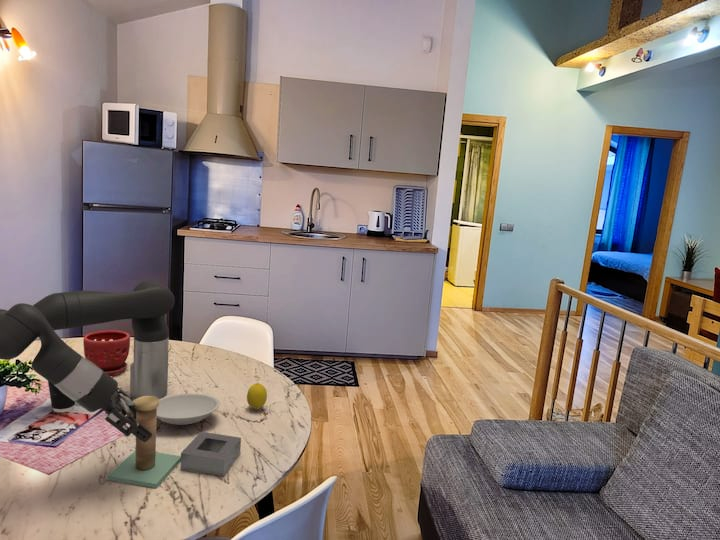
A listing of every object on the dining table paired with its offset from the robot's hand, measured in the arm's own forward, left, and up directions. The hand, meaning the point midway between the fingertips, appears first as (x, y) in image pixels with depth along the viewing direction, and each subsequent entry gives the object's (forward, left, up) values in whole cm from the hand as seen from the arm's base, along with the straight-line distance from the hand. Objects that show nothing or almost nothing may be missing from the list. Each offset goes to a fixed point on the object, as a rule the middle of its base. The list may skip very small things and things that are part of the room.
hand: (147, 428), depth 108 cm
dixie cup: (-35, +20, -10) cm, 42 cm away
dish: (-2, +22, -10) cm, 25 cm away
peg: (0, 0, -9) cm, 9 cm away
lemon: (+13, +35, -10) cm, 39 cm away
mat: (0, 0, -10) cm, 10 cm away
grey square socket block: (+12, +7, -10) cm, 17 cm away
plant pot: (-40, +46, -10) cm, 62 cm away
